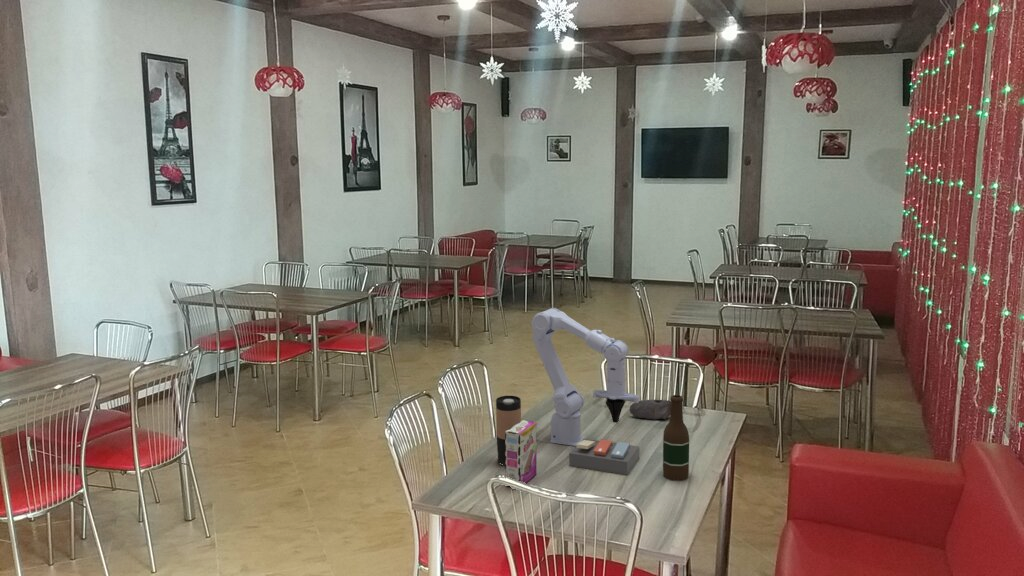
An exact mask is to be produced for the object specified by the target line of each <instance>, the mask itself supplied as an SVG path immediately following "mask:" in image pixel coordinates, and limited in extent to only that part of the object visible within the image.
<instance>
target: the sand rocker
mask: <svg viewBox="0 0 1024 576" xmlns="http://www.w3.org/2000/svg"><path fill="white" fill-rule="evenodd" d="M594 445H595V441H589V440H583V441H581V442H580V443H578V444H577V446H575V447H576V448H583V449H589V448H591V447H592V446H594Z"/></svg>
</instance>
